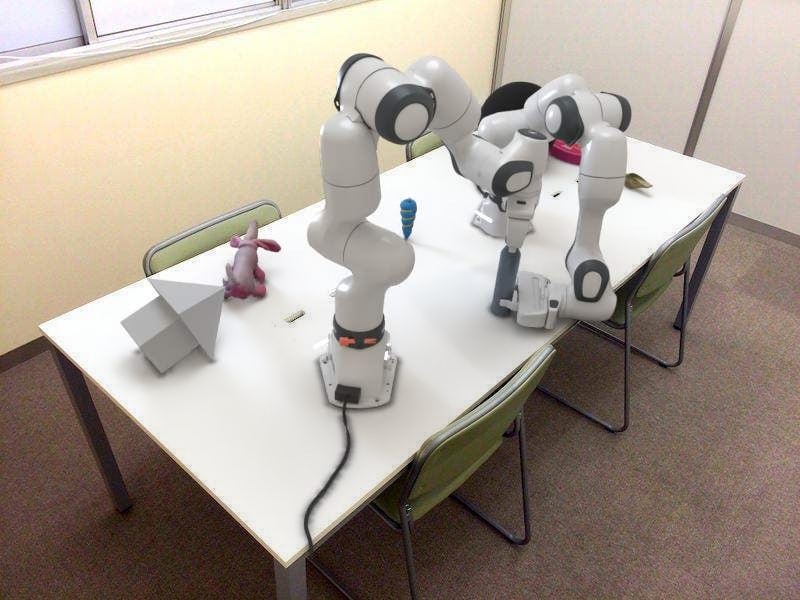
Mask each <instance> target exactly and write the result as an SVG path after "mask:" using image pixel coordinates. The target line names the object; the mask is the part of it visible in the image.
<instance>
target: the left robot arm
mask: <svg viewBox="0 0 800 600" xmlns="http://www.w3.org/2000/svg"><path fill="white" fill-rule="evenodd" d="M333 104H334V107H335V110H337V112H338V113H336V114H334V115H332V116H330V117H329V118H327V119H326V120H325V121H324V123H322V126H321V128H320V130H319V140H318V141H319V143H318V144H319V145H318V146H319V147H318V149H319V150H318V152H319V166H320V174H321V178H322V186H323V187H322V188H323V194H324V201H325V202H324V208H323V209H321V210H319V211H317V212H316V213H315V214H314V215H313V217H312V218H311V219H310V221H309V223H308V226H307V229H306V239H307V243H308V245H309V247H310V248H311V249H313V250H314V251H315V252H316V253H318V254H319V255H321V256H322V257H323V258H324V259H326V260H328V261H330V262H332V263H334V264H337V265H339V266H341V267H343V268H345V269H347V270H349V271H350V272H351V275H348V276H347V277H345V278H343V279H342V280H341V281H340V282H338V285H336V288H335V290H334V313H333V317H332V329H331V330H330V331H329V332H328V333H327V334H326V335H327V338H326V339H323V340H322V341H320V342H318V343H316V344H314V345H313V348H314V349H317V348H319V347H320V346H323V345H324V344H326V343H327V345H326V346H327V350H326V351H327V353H325V354H323V355H321V356H320V357H319V366H320V370H321V374H322V378H323V382H324V387H325V390H326V391H325V392H326V394H327V400H328V402H329V404H332V405H334V406H337V407H340V408H342V411H341V413H342V421H343V424H344V427H345V434H346V449H345V452H344V455H343V457H342V459H341V460H340V463H339V464H338V466H337V467H336V469H335V470H334V471H333V473H332V474H331V476H330V477H329V479H328V480H327V482H326V483H325V485H324V486H323V488H322V489H321V490H320V491H319V492H318V493H317V495H316V496H315V497H314V498H313V499H312V501H311V502H310V504H309V505H308V507H307V509H306V512H305V514H304V519H303V527H304V532H305V535H306V538H307V541H308V548H309V557H310V558H313V557H314V553H315V552H314V543H313V539H312V536H311V535H312V534H311V533H310V528H309V517H310V514H311V512H312V509H313V508H314V506H315V504H316V503H317V502H318V501H319V499H320V498H321V497H322V496H323V495H324V493H326V491H327V490H328V489H329V487H330V486H331V484H332V483H333V481H334V480H335V478H336V476H337V475H338V474H339V472H340V471H341V469H342V467H343V466H344V464H345V462H346V461H347V460H348V457H349V453H350V448H351V434H350V431H349V429H348V421H347V414H346V413H347V412H346V411H347V409H371V408H376V407H377V408H378V407H381V406H383V405H387V404H388V403H389V402H390V401H391V396H392V391H393V386H394V382H395V381H394V380H395V376H396V370H397V364H398V357H397V356H396V355H395V354H393V353H391V352H392V345H390V344H391V343H390V341H391V339H390V338H391V334H390V332H389V331H387V330H386V318H385V313H384V307H385V298H386V294H387V291H388V290H389V289H390V288H391V287H395V286H398V285H400V284H402V283H404V281H406V280H407V279H408V278H409V277H410V275H412V273H413V270H414V267H415V263H416V254H415V249H414V246H413V244H411V243H409V241H407V240H405V238H403V237H401V236H400V235H399V234H397V233H396V232H394V231H391V230H389V229H386V228H384V227H382V226H380V225H377V224H375V223H373V222H371V221H369V220H368V219H367V218H368V217H370V216H371V215H373V214H374V213H375V212H376V211H377V209H378V208H379V206H380V203H381V200H382V189H381V188H382V187H381V177H380V167H379V159H378V152H377V151H378V143H379V140H380V138H382V139H383V140H385V141H387V142H389V143H391V144H394V145H399V146H404V145H405V146H406V145H410V144H411V143H413V142H415V141H416V140H418V139H419V138H420V137H422V136H423V135H424V133H426V131H427V130H429V131H430V132H431V133H432V134H433V135H434V136H436V137H437V138H438V139H439V140H440V142H441V143H442V144H443V146H444V147H445V148H446V149H447V151H448V154H449V155H450V160H451V165H452V168H453V170H454V172H455V173H456V174H457V175H458V176H460V177H462V178H463V179H466V180H468V181H470V182H472V183H473V184H475V185H476V184H477V185H478V186H480V188H481V189H482V190H485V192H488V193H489V192H490V193H491V194H493V195H495V196H497V197H501V198H502V201H503V203H504V206H505V213H506V216H507V241H506V242H507V244H506V245H507V246H508V247H509V250H508V251H509V252H511V253H515V252H516V248H519V249H521V248H522V247H523V246H524V243H525V240H526V238H527V237H526V236H527V233H528V232H527V230H528V226H529V223H530V224H531V221H532V220H534V217H535V211H536V209H537V207H538V206H539V203H540V198H541V194H542V190H543V189H542V188H543V177H544V175H545V172H546V169H547V165H548V164H547V163H548V157H549V152H548V149H549V144H548V139H547V137H546V136H545V135H543V134H542V133H540V132H538V131H535V130H531V129H525V128H522V129H518V130H517V131H516V133H515V135H514V138H513V140H512V141H511V143H510V144H509V145H507V146H506V147H505V148H503V149H500V148H498V147H496V146H495V145H493V144H491V143H489V142H488V141H487V140H485V139H483V138H482V137H480V136H478V134H475V133H474V132H475V130H476V129H477V128H478V123H479V120H480V117H481V106H480V103H479V101H478V98H477V97H476V95H475V92H473V90H472V89H471V88H470V85H468V83H467V82H466V81H465V80H464V78H463V77H462V76H461V75H460V73H458V72H457V71H456V69H455V68H453V67H452V65H450V64H449V63H448V62H447V61H445V59H444V58H441V57H439V56H436V55H425V56H424V55H423V56H422V57H419V58H418V59H416V60H414V61H413V62H412V63H411V64H410V65H409V66H408V67H407V69H406V70H405V71H401V70H399V69H397V68H396V67H395V66H393V65H392V64H390V63H388V62H386V61H385V60H384V59H383V58H382V57H380V56H377V55H376V54H375V55H374V54H371V53H368V52H367V53H366V52H359V53H355V54H352V55H351V56H349V57H348V58H347V59H346V60H344V62H343V63H342V64H341V66H340V69H339V71H338V73H337V77H336V82H335V93H334V96H333Z"/></svg>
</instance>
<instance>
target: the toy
mask: <svg viewBox="0 0 800 600" xmlns="http://www.w3.org/2000/svg"><path fill="white" fill-rule="evenodd" d="M229 241H230V242H229V247H231V248H233V249H237V251H236V252H235V255H234V256H233V257H234V258H233V265H231V264H230V263H229V262H227V263H226V264H225V266H224V267H225V274H226V276H227V280H226V279H225V278H224V277H222V285H221V286H223V287H226V288H225V294H224V299H225V300H227V299H228V298H231V297H232V298H235V299H240V300H243V301H244V300H246V299H248V298H249V297H253V298H256V297H257V298H262V297H264V296H265V295H266V293H267V287H266V285H265V284H263V283H264V281H265V280H266V273H265V271H264V270H263V269H261V267H260V266H259V256H258V250H259V249H258V248H261V249H263V250H265V251H268V252H271V253H280V252H281V251H282V247H281V245H280V244H279V243H278V242H277V240H275V239H272V238H259V221H258V220H257V219H256V218H252V219H251V220H250V221H249V224H248V228H247V230H246V233H245V234H244V237H243V239H242V238H241V237H240V236H239V235H233V236H232V237H230V240H229ZM255 281H256V282H258V283H259V284H257V285H256V282H255Z"/></svg>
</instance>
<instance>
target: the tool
mask: <svg viewBox="0 0 800 600" xmlns="http://www.w3.org/2000/svg"><path fill="white" fill-rule="evenodd" d="M624 184H626V187H628V188H630V189H650V188H653V187H654V185H653V184H652V183H650V182H649V181H647V180H646V179H645V178H643V177H642V176H641V175H639V174H638V173H635V172H629V173H627V172H626V177H625V183H624Z"/></svg>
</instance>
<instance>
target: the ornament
mask: <svg viewBox="0 0 800 600" xmlns="http://www.w3.org/2000/svg"><path fill="white" fill-rule="evenodd" d="M399 207H400V211H399V212H400V213H399V214H400V216H401V218H400V222H401V230H402V234H403V237H404V240H406V241H407V240H408V239H409V238H410V236H411V234H412V232H413V227H414V223H415V220H416V218H417V217H416V214H417V212H418V205H417V202H416V200H414V199H412V197H411V196H410V195H409V197H408V198H405V199H403V200H401V201H400V204H399Z"/></svg>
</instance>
